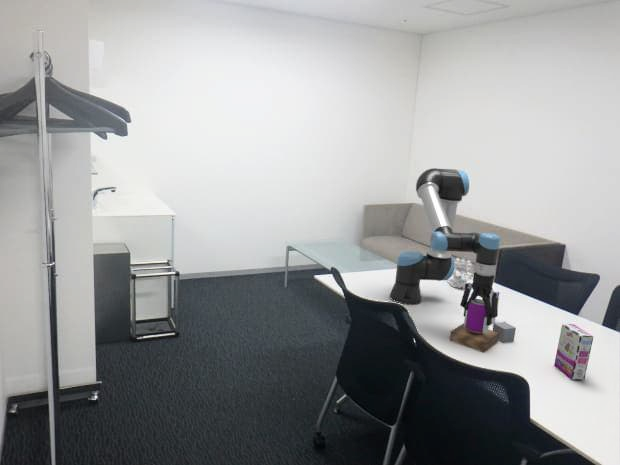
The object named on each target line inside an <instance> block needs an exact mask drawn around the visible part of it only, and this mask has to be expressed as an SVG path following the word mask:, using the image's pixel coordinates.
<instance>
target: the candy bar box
mask: <svg viewBox="0 0 620 465" xmlns="http://www.w3.org/2000/svg"><path fill="white" fill-rule="evenodd" d="M593 342H594V336H593V335H591V334H590V333H589V332H587V331H586V330H584V329H582V328H580V327H579V326H577V325H576V324H572V323H569V324H568V323H562V324H561V328H560V335H559V339H558V343H557V350H556V354H555V359H554V366H555V368H557V369H558V370H559V371H560V372H562V373H563V375H564V376H565V375H566V376H567V377H568V378H569V379H570V380H571V381H585V379H586V374H587V370H588V363H589V359H590V355H591V350H592V345H593Z"/></svg>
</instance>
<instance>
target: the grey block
mask: <svg viewBox="0 0 620 465" xmlns="http://www.w3.org/2000/svg"><path fill="white" fill-rule="evenodd" d="M516 330H517V328H516V326H513V325H511V324H509V323H507V322H505V321H504V322H496V323H495V322H494V323H493V326H492V331H495V332H498V333H499V337H498V342H500V343H502V344H505V343H512V342H514V341H515V335H516Z"/></svg>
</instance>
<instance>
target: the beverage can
mask: <svg viewBox="0 0 620 465" xmlns="http://www.w3.org/2000/svg"><path fill="white" fill-rule="evenodd" d="M486 316H487V315H486V310H485V304H484V301H483V299H482V298H476V299H474V300H471V302H470V304H469V307H468V314H467V320H466V328H467V329H468V330H469V331H471V332H473V333H482V331H483V325H484V319H485V317H486Z"/></svg>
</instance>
